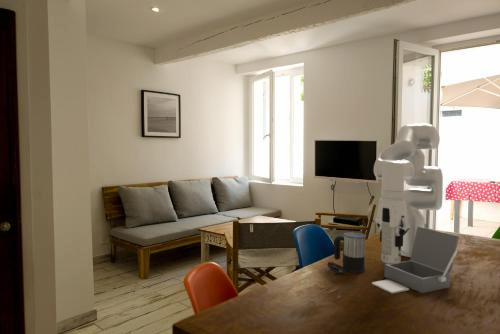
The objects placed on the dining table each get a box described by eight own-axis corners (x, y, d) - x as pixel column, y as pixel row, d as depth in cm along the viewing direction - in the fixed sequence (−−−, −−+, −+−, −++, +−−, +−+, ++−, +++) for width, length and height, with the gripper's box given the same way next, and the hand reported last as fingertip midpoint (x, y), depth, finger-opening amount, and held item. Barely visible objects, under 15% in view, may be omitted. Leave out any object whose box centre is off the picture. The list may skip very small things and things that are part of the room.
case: (384, 276, 148) (385, 230, 147) (417, 270, 156) (418, 226, 155) (425, 294, 131) (427, 241, 130) (460, 286, 138) (462, 236, 137)
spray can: (402, 265, 133) (403, 209, 132) (382, 263, 135) (383, 208, 134) (398, 259, 140) (400, 206, 139) (379, 258, 141) (381, 205, 140)
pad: (371, 284, 141) (371, 282, 141) (388, 280, 144) (388, 279, 144) (392, 293, 132) (392, 291, 132) (408, 290, 135) (408, 288, 135)
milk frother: (367, 267, 159) (367, 233, 159) (361, 279, 145) (361, 241, 144) (333, 263, 166) (334, 229, 165) (324, 274, 151) (325, 237, 151)
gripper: (367, 192, 142) (366, 239, 143) (403, 198, 126) (402, 251, 127) (382, 192, 145) (381, 237, 146) (419, 197, 130) (418, 248, 130)
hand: (391, 243), depth 137 cm, fingers closed on spray can, 6 cm apart
